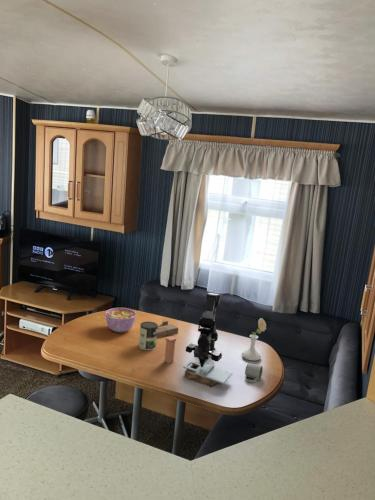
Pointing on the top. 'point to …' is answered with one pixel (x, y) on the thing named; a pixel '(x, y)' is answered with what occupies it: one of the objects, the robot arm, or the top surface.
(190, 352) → the robot arm
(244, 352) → the flower in vase
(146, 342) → the coffee can
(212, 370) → the lid
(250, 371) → the ceramic mug
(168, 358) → the salmon brown tall block
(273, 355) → the top surface
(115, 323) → the bowl of food
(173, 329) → the wooden block set
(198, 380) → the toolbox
